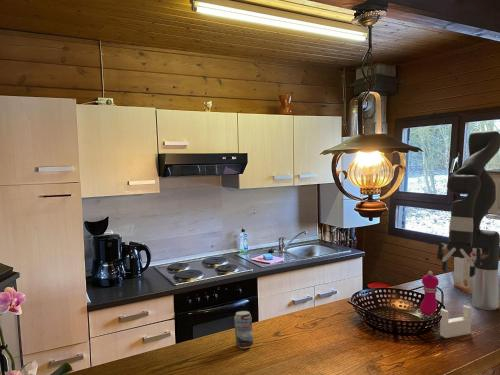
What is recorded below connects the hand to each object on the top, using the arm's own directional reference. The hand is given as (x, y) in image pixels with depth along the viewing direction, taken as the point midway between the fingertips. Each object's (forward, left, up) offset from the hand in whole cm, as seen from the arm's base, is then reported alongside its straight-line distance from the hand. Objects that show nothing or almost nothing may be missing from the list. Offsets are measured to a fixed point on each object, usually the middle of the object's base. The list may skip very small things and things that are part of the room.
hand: (458, 274), depth 137 cm
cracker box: (-42, -36, -23) cm, 60 cm away
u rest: (0, 0, -22) cm, 22 cm away
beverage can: (+76, -16, -23) cm, 81 cm away
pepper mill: (0, -13, -23) cm, 26 cm away
